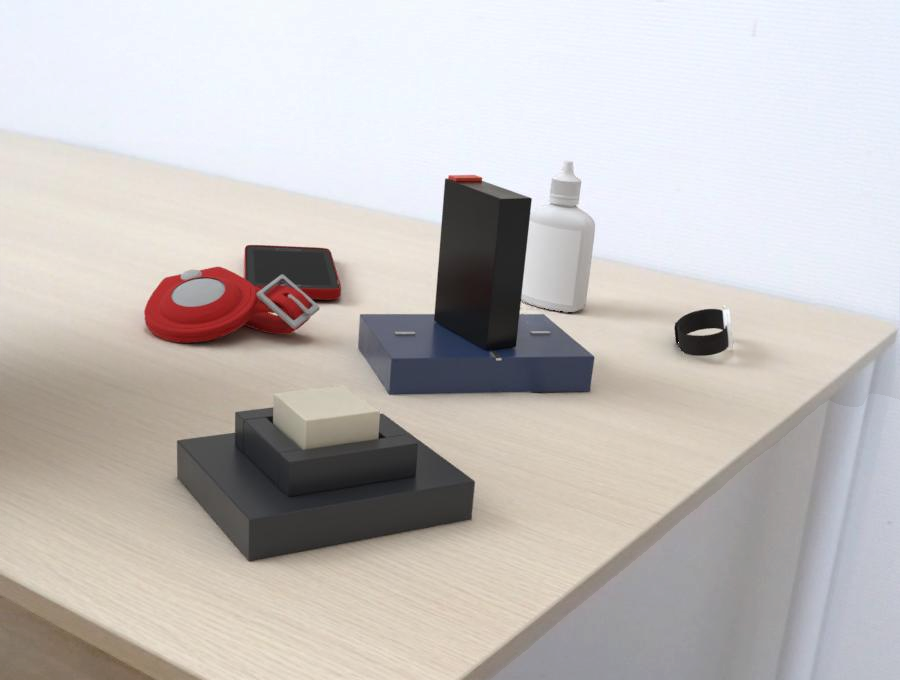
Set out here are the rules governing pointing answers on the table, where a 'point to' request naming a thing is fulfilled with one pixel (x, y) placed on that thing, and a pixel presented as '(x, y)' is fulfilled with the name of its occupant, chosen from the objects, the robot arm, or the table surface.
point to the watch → (707, 342)
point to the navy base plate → (471, 357)
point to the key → (325, 417)
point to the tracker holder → (223, 306)
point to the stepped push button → (318, 487)
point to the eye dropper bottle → (559, 248)
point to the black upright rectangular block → (481, 261)
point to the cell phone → (294, 269)
